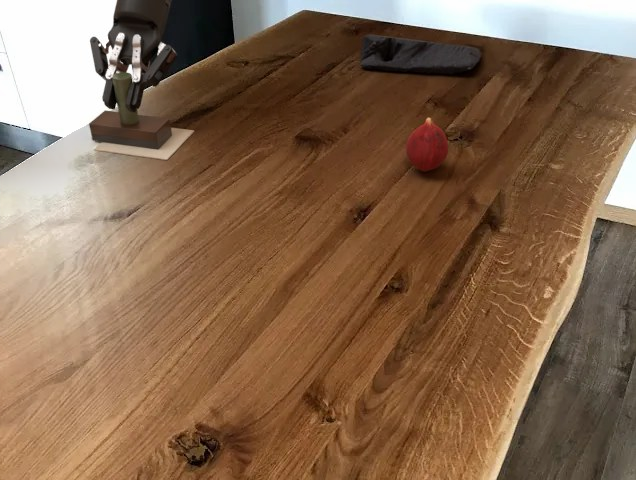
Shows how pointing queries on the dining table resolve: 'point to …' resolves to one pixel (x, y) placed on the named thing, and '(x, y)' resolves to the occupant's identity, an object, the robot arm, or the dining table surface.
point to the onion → (427, 146)
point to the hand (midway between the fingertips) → (120, 108)
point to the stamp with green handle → (129, 122)
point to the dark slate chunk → (416, 55)
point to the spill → (162, 153)
